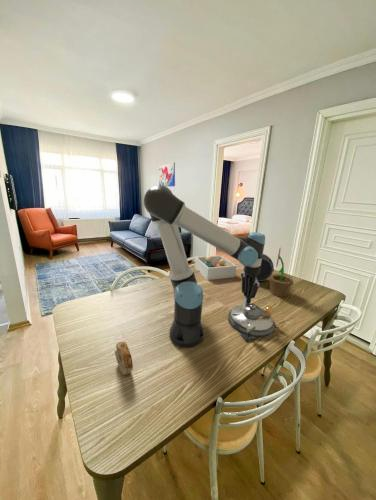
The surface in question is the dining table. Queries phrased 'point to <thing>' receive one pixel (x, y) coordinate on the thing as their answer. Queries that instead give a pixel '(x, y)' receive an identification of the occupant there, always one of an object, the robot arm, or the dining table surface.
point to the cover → (252, 311)
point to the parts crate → (215, 268)
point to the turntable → (260, 324)
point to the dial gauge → (250, 329)
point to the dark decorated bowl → (265, 268)
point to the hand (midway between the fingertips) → (245, 307)
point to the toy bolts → (209, 264)
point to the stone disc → (123, 358)
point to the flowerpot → (280, 282)
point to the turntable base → (256, 334)
